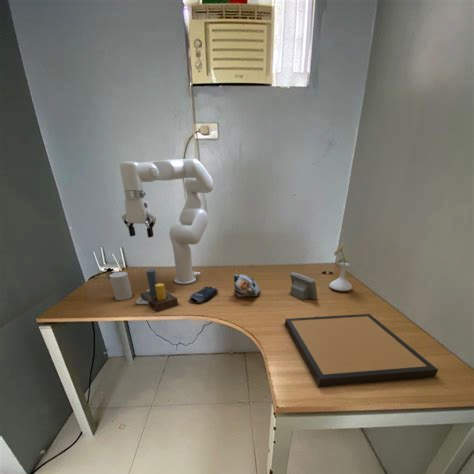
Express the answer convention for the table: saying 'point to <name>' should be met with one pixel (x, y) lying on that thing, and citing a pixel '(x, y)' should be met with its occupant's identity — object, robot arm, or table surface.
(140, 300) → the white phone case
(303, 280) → the digital clock
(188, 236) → the robot arm
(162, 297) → the mustard peg
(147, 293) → the stand
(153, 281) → the blue peg
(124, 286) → the cup
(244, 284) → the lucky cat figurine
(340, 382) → the cork board
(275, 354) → the table surface
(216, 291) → the electronic device
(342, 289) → the flower in vase
